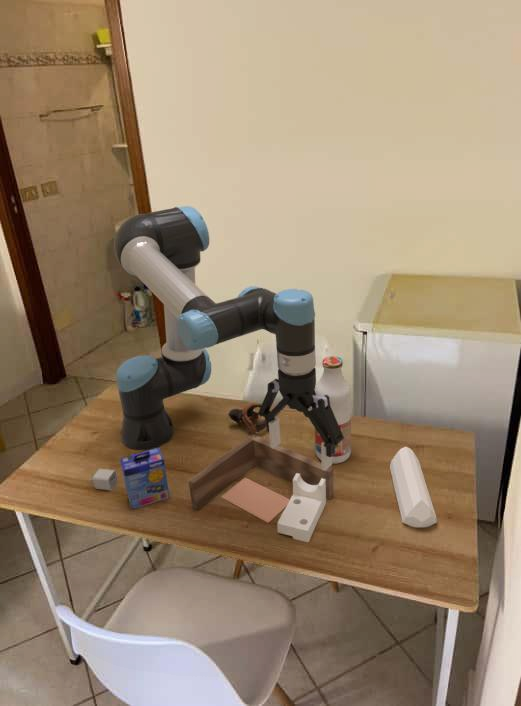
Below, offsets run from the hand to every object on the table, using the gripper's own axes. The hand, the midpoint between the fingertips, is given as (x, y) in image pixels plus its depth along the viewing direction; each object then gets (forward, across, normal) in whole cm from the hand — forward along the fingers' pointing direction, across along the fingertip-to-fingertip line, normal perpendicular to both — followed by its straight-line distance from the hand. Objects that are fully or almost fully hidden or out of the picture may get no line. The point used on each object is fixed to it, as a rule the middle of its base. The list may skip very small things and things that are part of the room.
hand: (300, 456), depth 118 cm
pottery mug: (+18, -35, +22) cm, 46 cm away
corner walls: (+18, -12, -1) cm, 21 cm away
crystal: (+18, +16, +22) cm, 33 cm away
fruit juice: (+18, -8, +25) cm, 32 cm away
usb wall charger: (+18, -49, -20) cm, 56 cm away
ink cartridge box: (+18, -35, -16) cm, 43 cm away
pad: (+18, -13, -1) cm, 22 cm away
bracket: (+18, 0, 0) cm, 18 cm away
